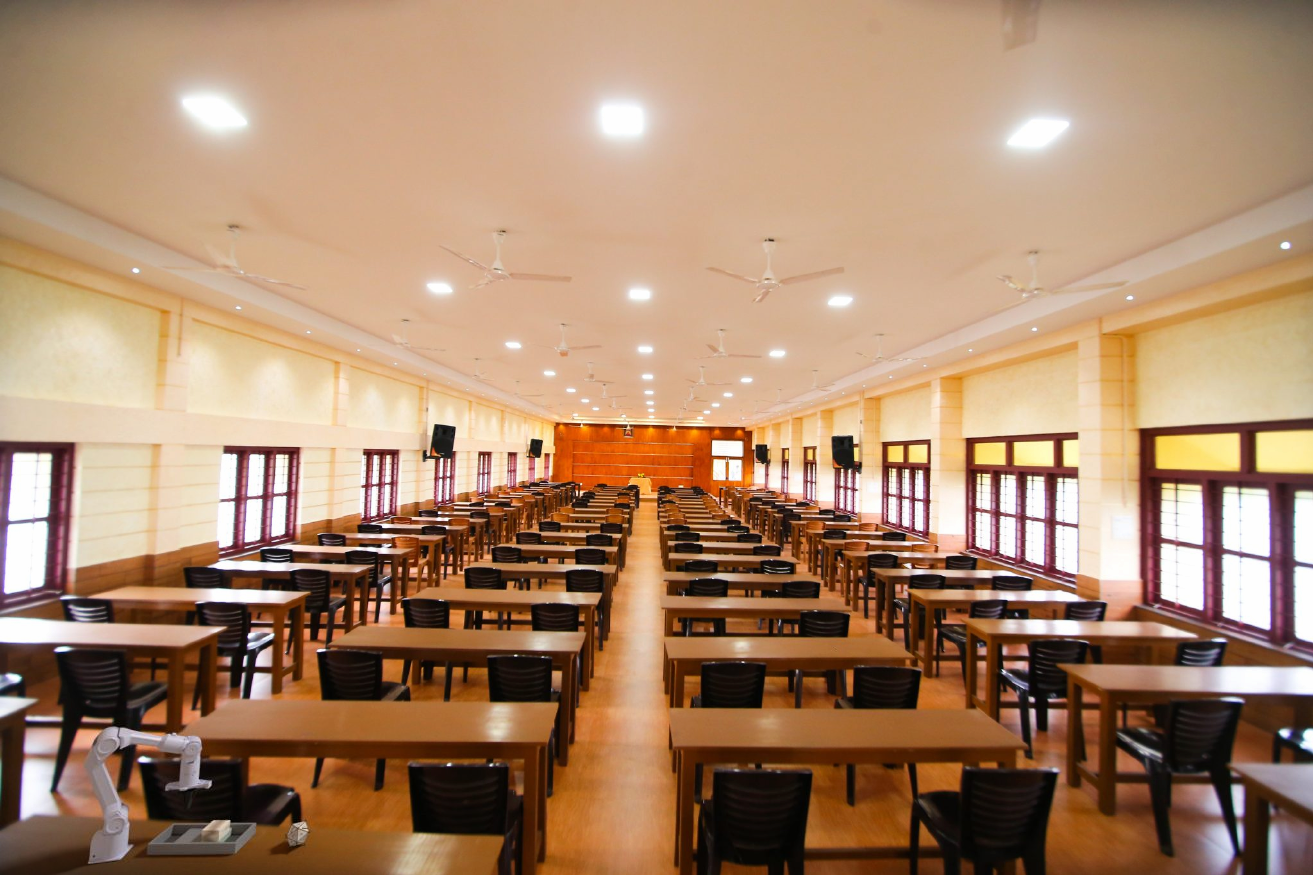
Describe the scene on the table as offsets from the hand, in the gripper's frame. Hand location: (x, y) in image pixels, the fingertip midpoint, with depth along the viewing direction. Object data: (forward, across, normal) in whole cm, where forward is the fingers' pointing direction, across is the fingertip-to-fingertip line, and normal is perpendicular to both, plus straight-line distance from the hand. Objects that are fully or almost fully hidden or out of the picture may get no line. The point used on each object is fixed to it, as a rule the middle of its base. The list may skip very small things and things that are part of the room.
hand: (186, 807), depth 218 cm
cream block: (+7, +14, -7) cm, 17 cm away
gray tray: (+9, +10, -7) cm, 15 cm away
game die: (+10, +43, -12) cm, 46 cm away
